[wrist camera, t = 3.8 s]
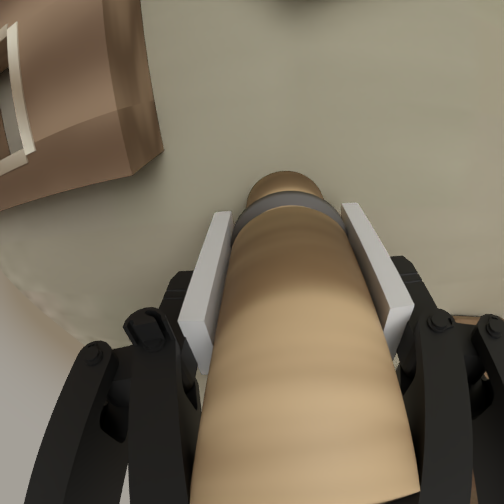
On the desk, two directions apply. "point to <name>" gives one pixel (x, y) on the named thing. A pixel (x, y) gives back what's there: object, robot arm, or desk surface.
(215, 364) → the oak peg
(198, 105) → the desk surface
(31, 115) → the seat board
